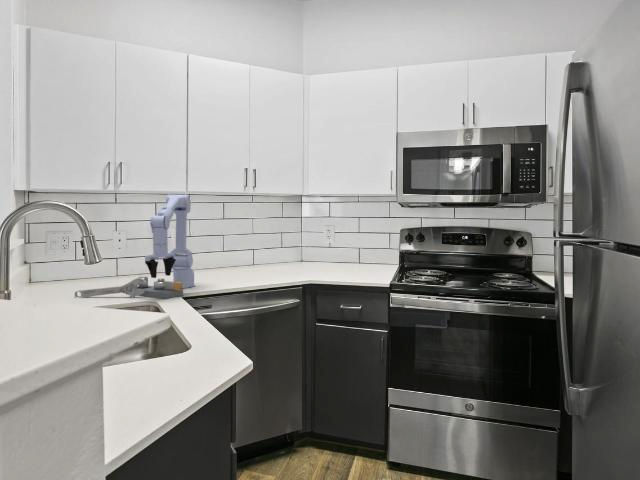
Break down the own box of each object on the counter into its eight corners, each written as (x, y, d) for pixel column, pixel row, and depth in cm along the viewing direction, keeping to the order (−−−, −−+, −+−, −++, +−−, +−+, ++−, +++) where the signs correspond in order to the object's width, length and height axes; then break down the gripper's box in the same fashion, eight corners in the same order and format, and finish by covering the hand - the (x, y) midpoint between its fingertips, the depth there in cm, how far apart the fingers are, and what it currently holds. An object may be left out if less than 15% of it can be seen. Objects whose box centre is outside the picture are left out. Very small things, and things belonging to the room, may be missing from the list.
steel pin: (143, 292, 208) (143, 276, 208) (150, 292, 207) (149, 277, 206) (136, 293, 205) (136, 277, 204) (143, 294, 203) (143, 278, 203)
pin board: (144, 290, 213) (144, 285, 212) (183, 295, 201) (183, 289, 201) (125, 293, 204) (125, 288, 204) (165, 299, 192) (165, 293, 192)
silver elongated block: (161, 286, 207) (161, 277, 207) (185, 289, 200) (185, 280, 200) (150, 288, 202) (150, 279, 202) (175, 291, 195) (175, 282, 195)
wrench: (77, 303, 197) (148, 295, 197) (75, 304, 195) (147, 296, 195) (75, 285, 196) (146, 277, 196) (72, 285, 194) (144, 277, 195)
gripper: (166, 242, 202) (167, 273, 203) (139, 244, 190) (140, 278, 191) (178, 243, 199) (179, 275, 200) (151, 245, 186) (152, 279, 187)
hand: (160, 276), depth 195 cm, fingers open, 7 cm apart
